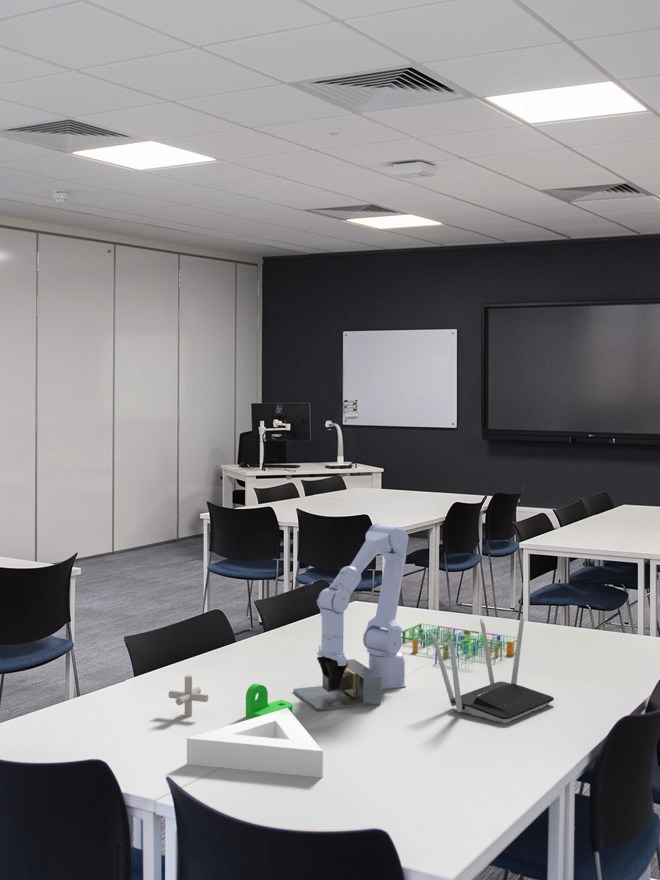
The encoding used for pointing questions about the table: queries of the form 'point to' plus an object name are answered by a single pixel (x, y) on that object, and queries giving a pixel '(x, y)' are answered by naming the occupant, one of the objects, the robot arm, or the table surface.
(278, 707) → the mechanical part
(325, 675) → the grey and tan block
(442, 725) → the table surface
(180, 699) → the pipe connector
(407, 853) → the table surface
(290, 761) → the triangle block
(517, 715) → the wireless router
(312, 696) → the block
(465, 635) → the piping system model
